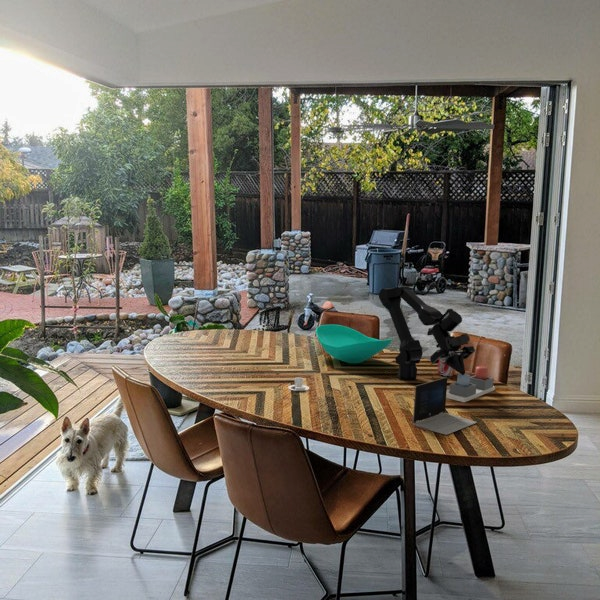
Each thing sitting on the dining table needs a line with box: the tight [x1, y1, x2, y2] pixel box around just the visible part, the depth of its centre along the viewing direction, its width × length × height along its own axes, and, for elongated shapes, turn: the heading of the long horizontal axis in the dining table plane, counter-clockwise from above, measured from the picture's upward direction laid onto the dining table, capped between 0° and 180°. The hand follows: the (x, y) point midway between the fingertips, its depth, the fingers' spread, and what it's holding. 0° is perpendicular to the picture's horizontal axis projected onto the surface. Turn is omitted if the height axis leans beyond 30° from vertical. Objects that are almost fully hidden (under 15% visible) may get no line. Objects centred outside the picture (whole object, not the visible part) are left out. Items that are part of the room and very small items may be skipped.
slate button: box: [456, 372, 471, 387], centre depth 236 cm, size 4×4×5 cm
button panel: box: [446, 374, 496, 403], centre depth 242 cm, size 10×24×5 cm, turn 138°
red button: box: [474, 365, 489, 380], centre depth 246 cm, size 4×4×5 cm
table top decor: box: [315, 323, 393, 364], centre depth 284 cm, size 40×28×13 cm
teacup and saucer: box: [287, 376, 310, 392], centre depth 240 cm, size 9×8×4 cm
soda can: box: [437, 348, 456, 377], centre depth 267 cm, size 7×7×12 cm
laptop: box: [412, 376, 478, 436], centre depth 205 cm, size 18×12×13 cm
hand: (463, 374), depth 235 cm, fingers closed, pressing on slate button
